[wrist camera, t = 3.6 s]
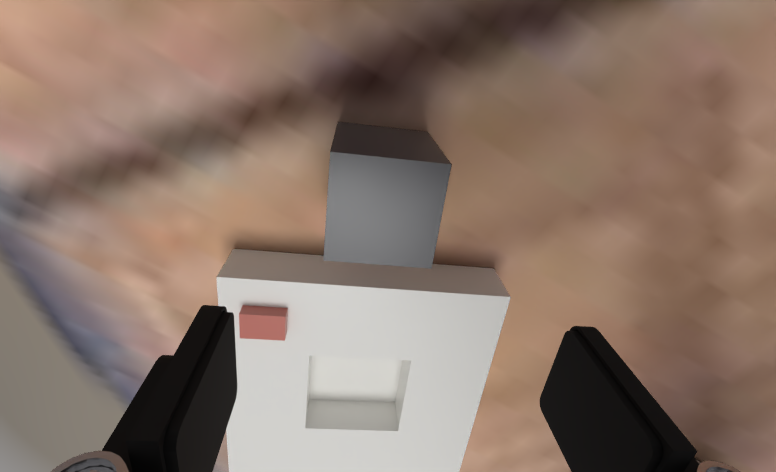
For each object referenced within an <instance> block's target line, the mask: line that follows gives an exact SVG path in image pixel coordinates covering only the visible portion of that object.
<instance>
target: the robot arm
mask: <svg viewBox="0 0 776 472" xmlns="http://www.w3.org/2000/svg"><path fill="white" fill-rule="evenodd" d="M236 396H237V368H236V348H235V327H234V314H233V312H227V309H226V307H225V306H209V305H203V306H202V307H201V308H200V310H199V312H198V313H197V315H196V317H195V319H194V320H193V322H192V324H191V326H190V327H189V329H188V331H187V333H186V335H185V336H184V338H183V340H182V342H181V343H180V345H179V347H178V349H177V351H176V352H175V354H174V356H171V355H162V356H161V357H159V358H158V360H157V361H156V362H155V364H154V366H153V367H152V369H151V370H150V372H149V374H148V375H147V377H146V379H145V380H144V382H143V384H142V385H141V387H140V389H139V390H138V392H137V394H136V395H135V397H134V398H133V400H132V402H131V403H130V405H129V407H128V408H127V410H126V412H125V413H124V415H123V417H122V418H121V420H120V422H119V423H118V425H117V427H116V428H115V430H114V432H113V433H112V435H111V436H110V438H109V440H108V441H107V443H106V445H105V446H104V448H103V450H102V451H94V452H88V453H84V454H81V455H79V456H76V457H73V458H71V459H69V460H67V461H66V462H64V463H62V464H60V465H59V466H57V467H56V468H55V469H53V470H52V471H51V472H212V471H213V468H214V465H215V462H216V459H217V456H218V453H219V450H220V447H221V443H222V440H223V437H224V434H225V431H226V428H227V425H228V422H229V419H230V416H231V413H232V410H233V407H234V404H235V400H236ZM540 407H541V411H542V413H543V415H544V417H545V419H546V421H547V423H548V425H549V427H550V429H551V431H552V433H553V435H554V437H555V439H556V441H557V443H558V445H559V447H560V449H561V451H562V453H563V455H564V457H565V459H566V461H567V463H568V465H569V467H570V469H571V471H572V472H740V471H739V470H737V469H735V468H734V467H731V466H729V465H727V464H724V463H722V462H717V461H704V462H702V463H701V462H699V461H698V460H696V459H695V458H694V456H695V454H696V453H697V450H696V449H695V448H694V447H693V446H692V444H691V443H690V442H689V441H688V440H687V438H686V437H685V436H684V435H683V433H682V432H681V431H680V430H679V429H678V427H677V426H676V425H675V424H674V422H673V421H672V420H671V419H670V418H669V416H668V415H667V414H666V413H665V411H664V410H663V409H662V408H661V407H660V405H659V404H658V403H657V402H656V400H655V399H654V398H653V397H652V396H651V394H650V393H649V392H648V391H647V389H646V388H645V387H644V386H643V385H642V383H641V382H640V381H639V380H638V378H637V377H636V376H635V375H634V374H633V372H632V371H631V370H630V369H629V367H628V366H627V365H626V364H625V363H624V361H623V360H622V359H621V358H620V356H619V355H618V354H617V353H616V352H615V350H614V349H613V348H612V347H611V345H610V344H609V343H608V342H607V341H606V339H605V338H604V337H603V336H602V334H601V333H600V332H599V331H598V330H597V329H596V328H594V327H583V326H574V327H572V328H571V329H570V331H567V332H566V333H565V335H564V337H563V340H562V342H561V345H560V347H559V350H558V353H557V355H556V358H555V360H554V363H553V366H552V368H551V371H550V373H549V376H548V379H547V381H546V384H545V386H544V389H543V391H542V394H541V397H540Z"/></svg>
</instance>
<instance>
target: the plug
mask: <svg viewBox="0 0 776 472" xmlns="http://www.w3.org/2000/svg"><path fill="white" fill-rule="evenodd" d="M451 165H452V164H451V163H450V162H449V160H448V159H447V158H446V156H445V155H444V153H443V152H442V151H441V149H440V148H439V147H438V145H437V144H436V143H435V141H434V140H433V138H432V137H431V136H430V134H429V133H428V132H425V131H416V130H407V129H398V128H389V127H380V126H371V125H362V124H353V123H344V122H338V124H337V128H336V132H335V135H334V139H333V143H332V147H331V151H330V165H329V181H328V197H327V212H326V228H325V244H324V260H323V261H337V262H350V263H363V264H376V265H390V266H403V267H416V268H429V269H432V264H433V259H434V253H435V248H436V243H437V238H438V233H439V227H440V222H441V217H442V212H443V206H444V201H445V196H446V191H447V186H448V180H449V175H450V170H451Z"/></svg>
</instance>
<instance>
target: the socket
mask: <svg viewBox="0 0 776 472" xmlns="http://www.w3.org/2000/svg"><path fill="white" fill-rule="evenodd" d="M323 260H324V256H322V255H309V254H296V253H283V252H270V251H257V250H243V249H233V250H232V252H231V254H230V255H229V257H228V259H227V260H226V262H225V264H224V265H223V267H222V269H221V270H220V272H219V274H218V275H217V291H218V306H225V307H226V309H227V312H233V314H234V327H235V348H236V368H237V396H236V400H235V404H234V407H233V410H232V413H231V416H230V419H229V422H228V425H227V428H226V432H227V448H228V463H229V472H459V471H460V467H461V464H462V460H463V457H464V454H465V450H466V447H467V443H468V440H469V437H470V433H471V430H472V426H473V423H474V420H475V416H476V413H477V410H478V406H479V403H480V399H481V396H482V393H483V389H484V386H485V382H486V379H487V376H488V372H489V369H490V366H491V362H492V359H493V355H494V352H495V349H496V345H497V342H498V338H499V335H500V332H501V328H502V325H503V321H504V318H505V315H506V311H507V308H508V305H509V301H510V298H511V297H510V295H509V293H508V292H507V290H506V288H505V287H504V285H503V283H502V281H501V280H500V278H499V276H498V275H497V273H496V271H495V270H494V269H493V268H480V267H467V266H454V265H441V264H432V269H429V268H416V267H403V266H390V265H376V264H363V263H350V262H337V261H323Z"/></svg>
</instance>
